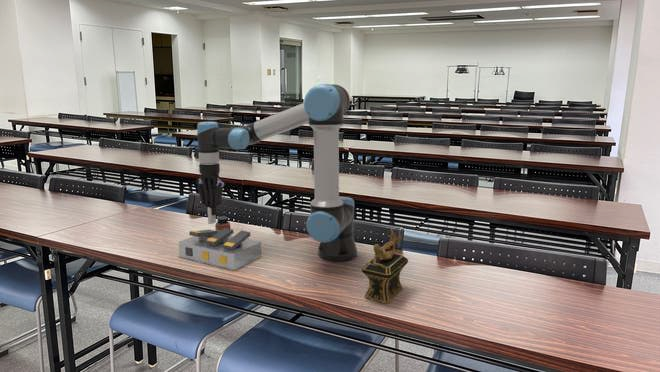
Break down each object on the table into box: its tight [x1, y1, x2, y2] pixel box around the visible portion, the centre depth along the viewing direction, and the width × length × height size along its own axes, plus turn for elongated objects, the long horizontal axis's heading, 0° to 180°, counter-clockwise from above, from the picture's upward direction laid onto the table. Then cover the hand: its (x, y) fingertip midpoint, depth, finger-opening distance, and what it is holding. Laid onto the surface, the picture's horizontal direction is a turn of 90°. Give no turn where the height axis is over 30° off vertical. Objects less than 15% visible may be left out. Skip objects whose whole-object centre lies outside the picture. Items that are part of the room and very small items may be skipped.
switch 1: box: [188, 229, 217, 237], centre depth 178 cm, size 4×11×2 cm, turn 153°
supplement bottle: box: [214, 216, 231, 233], centre depth 189 cm, size 6×6×11 cm
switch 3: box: [223, 229, 251, 251], centre depth 171 cm, size 4×11×2 cm, turn 153°
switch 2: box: [206, 228, 234, 246], centre depth 175 cm, size 4×11×2 cm, turn 153°
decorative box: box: [361, 228, 409, 304], centre depth 148 cm, size 20×10×20 cm, turn 151°
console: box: [178, 234, 262, 272], centre depth 176 cm, size 26×16×7 cm, turn 63°
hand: (212, 222), depth 181 cm, fingers closed
